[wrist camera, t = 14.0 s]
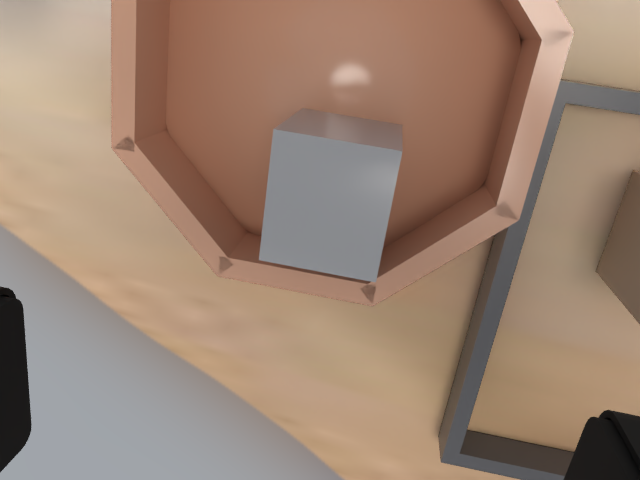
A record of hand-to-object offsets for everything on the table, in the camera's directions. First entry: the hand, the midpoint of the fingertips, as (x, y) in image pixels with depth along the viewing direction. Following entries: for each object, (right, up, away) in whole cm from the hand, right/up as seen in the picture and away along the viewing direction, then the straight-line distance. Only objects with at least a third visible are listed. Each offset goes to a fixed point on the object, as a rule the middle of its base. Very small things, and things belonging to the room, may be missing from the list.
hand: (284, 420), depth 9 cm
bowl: (+1, +10, +16) cm, 19 cm away
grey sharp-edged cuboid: (+2, +6, +16) cm, 17 cm away
